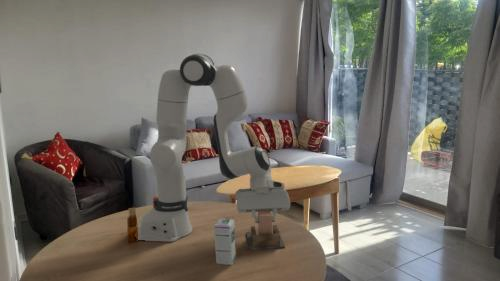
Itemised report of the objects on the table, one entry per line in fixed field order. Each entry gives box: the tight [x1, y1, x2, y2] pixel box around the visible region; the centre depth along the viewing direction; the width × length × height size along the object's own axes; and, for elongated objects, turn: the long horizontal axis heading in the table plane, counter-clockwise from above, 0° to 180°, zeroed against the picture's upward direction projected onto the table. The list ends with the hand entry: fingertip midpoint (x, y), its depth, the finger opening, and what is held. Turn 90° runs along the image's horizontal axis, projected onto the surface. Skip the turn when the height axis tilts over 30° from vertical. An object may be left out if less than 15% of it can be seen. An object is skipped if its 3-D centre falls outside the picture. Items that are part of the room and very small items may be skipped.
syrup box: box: [213, 217, 237, 266], centre depth 132 cm, size 6×6×14 cm
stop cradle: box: [245, 224, 286, 251], centre depth 146 cm, size 13×13×5 cm
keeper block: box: [257, 211, 273, 234], centre depth 145 cm, size 4×4×9 cm
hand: (265, 221), depth 144 cm, fingers closed on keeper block, 4 cm apart
